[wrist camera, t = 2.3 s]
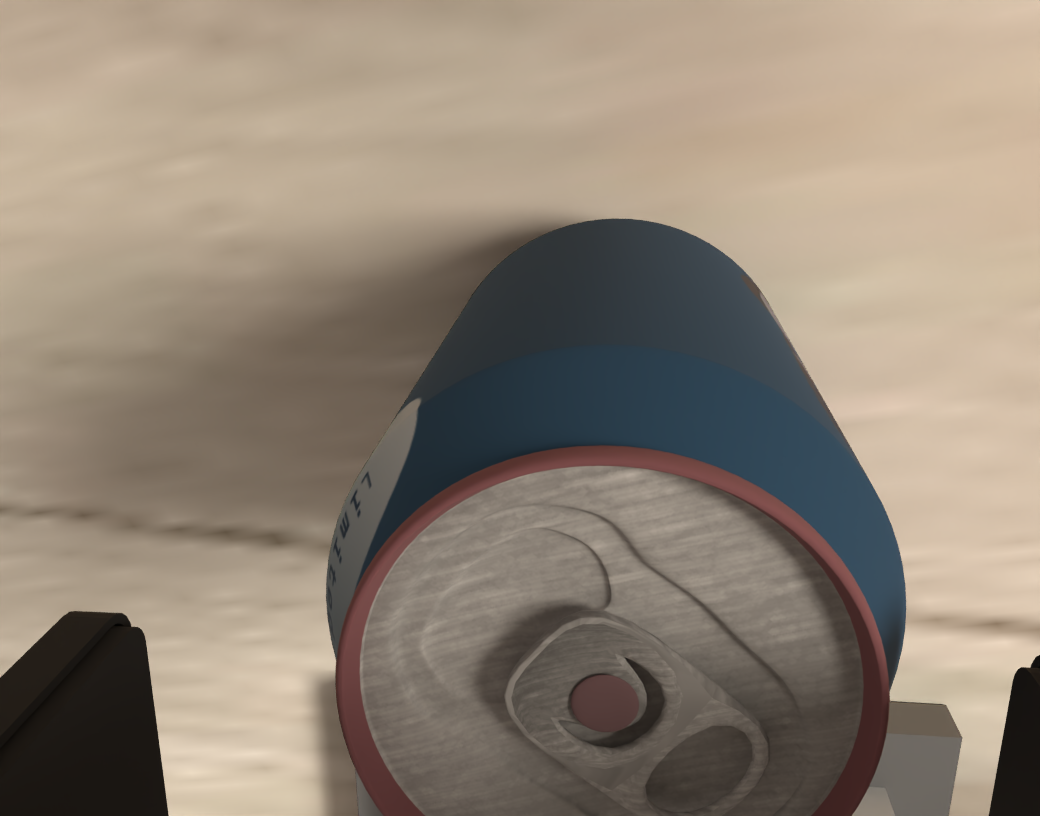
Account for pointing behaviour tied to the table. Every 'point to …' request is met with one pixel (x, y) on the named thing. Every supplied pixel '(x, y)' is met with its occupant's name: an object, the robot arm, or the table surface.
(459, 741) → the soda can
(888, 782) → the holder plate
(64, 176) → the table surface
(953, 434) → the table surface
